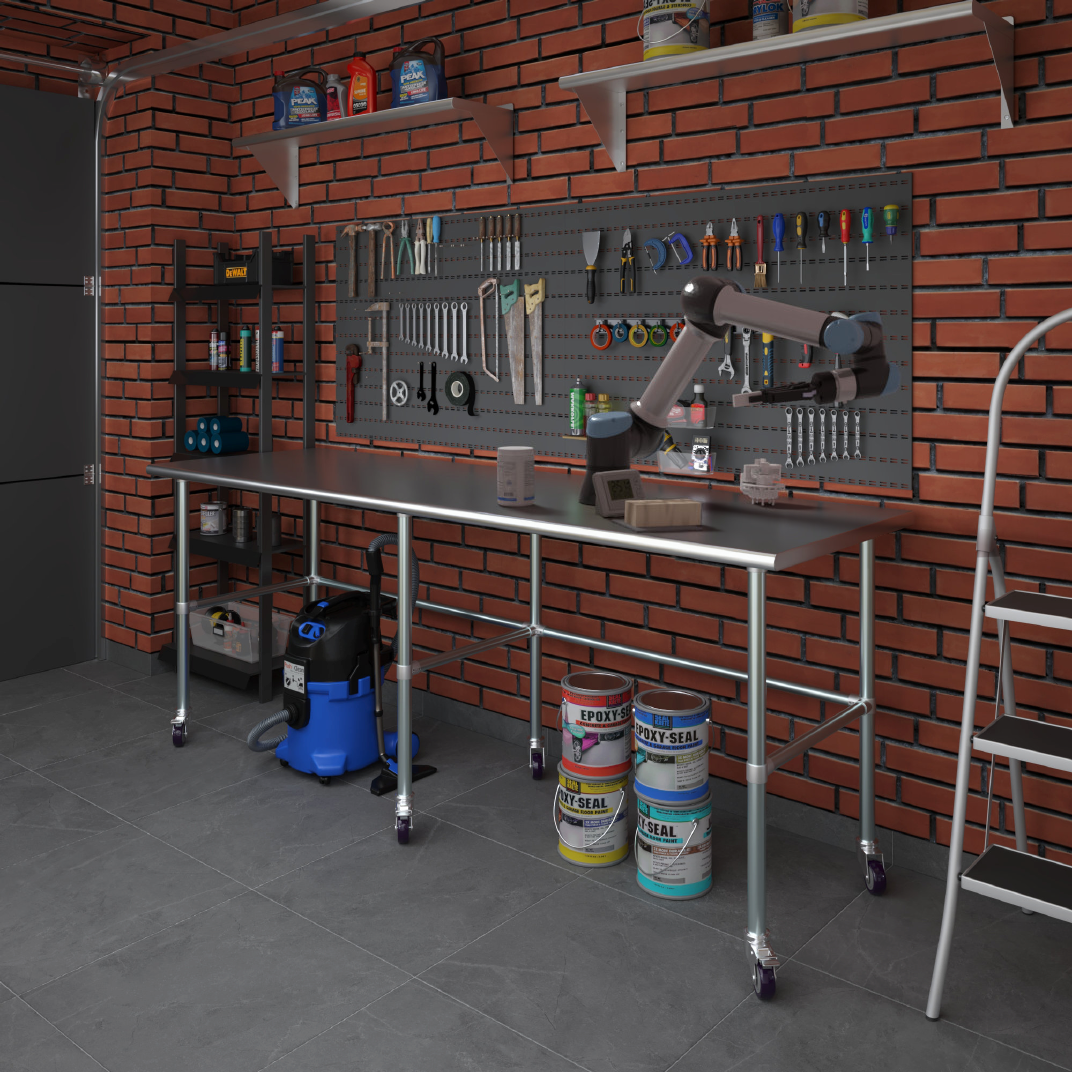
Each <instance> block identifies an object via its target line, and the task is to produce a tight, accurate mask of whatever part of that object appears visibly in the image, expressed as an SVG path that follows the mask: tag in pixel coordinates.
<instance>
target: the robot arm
mask: <svg viewBox="0 0 1072 1072" xmlns="http://www.w3.org/2000/svg"><path fill="white" fill-rule="evenodd" d="M680 307H681V310H682V312H683V314H684V316H683V318H684V322H685V325H684V327H683V328H682V330H681V331H680V333H679V335H678V336H677V338H676V339H675V342H674V343H673V345H672V347H671V348H670V349H669V351H668V353H667V355H666V356H665V357H664V359H663V361H662V363H661V365H660V366H659V368H658V369H657V371H656V372H655V375H654V376H653V378H652V379H651V381H650V383H648V385H647V387H646V389H645V391H644V393H643V394H642V396H641V397H640V399H639V400H636V401H631V403H630V404H629V406H628V408H627V409H626V411H607V412H598V413H594V414H591V415H589V417H588V419H587V423H586V424H587V425H586V429H585V431H586V432H585V433H586V446H585V447H586V448H585V449H586V455H585V457H586V459H585V462H586V463H585V474H584V478H583V480H582V483H581V486H580V490H579V493H578V502H579V503H581V504H585V505H593V506H595V501H596V493H595V489H594V485H593V480H592V476H593V474H595V473H598V472H604V471H615V470H630V469H631V460H641V459H646V458H649V457H652V456H653V455H656V454H657V453H658V452H659V450H661V448H662V447H663V445H664V443H665V441H666V434H665V432H666V430H667V428H668V426H669V421H668V416H669V414H670V412H671V411H672V410H673V408H674V406H675V405H676V403H678V400H679V398H680V397H681V395H682V393H683V392H684V390H685V389H686V387H687V386H688V384H689V383H690V381H691V379H692V378H693V376H694V374H695V373H696V372H697V369H698V368H699V367H700V365H701V363H702V362H703V360H704V359H705V357H706V356H707V354H708V353H709V350H710V349H711V347H712V346H713V344H714V343H715V342H718V341H722V340H723V339H724V338H725V336H726V335H727V333H728V332H729V330H730V329H731V327H733V326H737V327H741V328H745V329H749V330H752V331H756V332H759V333H764V334H767V335H771V336H775V337H778V338H783V339H787V340H791V341H794V342H798V343H802V344H806V345H810V346H813V347H817V348H821V349H824V350H827V351H831V352H833V353H835V354H838V355H841V356H842V355H843V356H845V355H851V359H852V367H845V368H839V369H838V368H837V369H832V370H831V371H830V370H826V371H825V370H824V371H819V372H815V373H813V375H812V376H811V381H810V382H806V381H798V382H797V383H795V382H790V383H787V384H783V385H779V386H773V387H766V388H760V389H759V390H758V391H757V390H756V391H751V392H743V393H738V394H737V393H735V394H732V395H731V396H732V407H733V408H738V407H739V408H740V407H747V406H753V405H760V406H764V404H769V405H773V404H781V403H790V402H798V401H812V400H813V401H814V403H815V404H816V405H818V406H823V405H828V404H829V405H830V404H833V403H840V402H842V404H844V405H845V404H847V403H848V401H855V400H856V401H857V400H862V399H863V400H864V399H871V398H878V397H883V396H887V395H888V396H889V395H893V394H895V393H896V392H897V391H898V390H899V388H900V386H901V382H902V381H901V380H902V377H901V372H900V370H899V367H898V365H897V363H895V362H892V361H888V360H887V355H886V348H885V347H886V346H885V338H884V332H883V331H884V330H883V329H884V326H883V323H882V319H881V315H880V312H877V311H868V312H863V313H862V312H861V313H857V314H853V315H850V316H849V318H845V317H841V316H837V315H831V314H829V313H824V312H819V311H816V310H811V309H808V308H803V307H800V306H796V305H795V306H794V305H790V304H787V303H783V302H779V301H775V300H771V299H767V298H764V297H763V298H762V297H758V296H754V295H751V294H748V293H747V291H746V289H745V287H744V286H743V285H742V284H741V283H739V282H738V281H736V280H733V279H731V278H729V277H718V276H712V275H699V276H695V277H693V278H692V279H690V280H689V281H688V282H687V283H686V284H685V285H684V287H683V289H682V291H681V294H680Z"/></svg>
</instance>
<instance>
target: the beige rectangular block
mask: <svg viewBox="0 0 1072 1072" xmlns="http://www.w3.org/2000/svg"><path fill="white" fill-rule="evenodd" d="M703 504H704V503H703V502H701V501H698V500H694V499H692V498H678V499H676V498H675V499H674V498H673V499H646V500H630V501H625V516H624V519H625V523H627V524H630V525H632V526H634V527H653V526H683V525H695V526H702V524H703V523H702V522H703Z"/></svg>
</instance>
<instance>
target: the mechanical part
mask: <svg viewBox="0 0 1072 1072" xmlns="http://www.w3.org/2000/svg"><path fill="white" fill-rule="evenodd" d="M782 466H783V465H782V464H778V463H770V462H769V461H768V462H767V459H766V458H755V459H754V464H753V463H752V464H743V472H741V473H740V480H739V483H740V484H739V485H740V486H739V489H740V492H742V493H743V495H744V496H745V495H746V496H748V497H749V498H751V505H754V504H755V503H756V504H759V499H760V500H761V506H765V500H768V504H771V505H772V506H775V499H779V492H783V491H785V490H786V484H785V483H781V480H782ZM755 499H756V502H755Z"/></svg>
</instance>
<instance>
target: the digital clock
mask: <svg viewBox="0 0 1072 1072" xmlns="http://www.w3.org/2000/svg"><path fill="white" fill-rule="evenodd" d="M592 480H593V485H594V489H595V493H596V501H595V505H594V506H595V508H594V514H595V515H599V516H601V517H603V518H617V517H618V518H619V517H625V501H630V500H647V498H646V493H645V489H644V485H643V482H642V478H641V474H640V471H639V470H638V469H635V468H630V470H615V471H604V472H598V473H595V474H593V476H592Z"/></svg>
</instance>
